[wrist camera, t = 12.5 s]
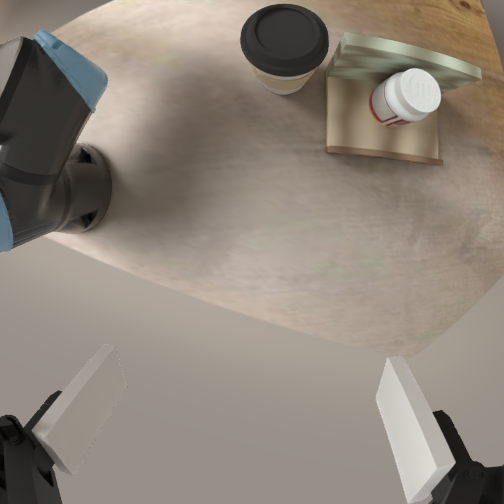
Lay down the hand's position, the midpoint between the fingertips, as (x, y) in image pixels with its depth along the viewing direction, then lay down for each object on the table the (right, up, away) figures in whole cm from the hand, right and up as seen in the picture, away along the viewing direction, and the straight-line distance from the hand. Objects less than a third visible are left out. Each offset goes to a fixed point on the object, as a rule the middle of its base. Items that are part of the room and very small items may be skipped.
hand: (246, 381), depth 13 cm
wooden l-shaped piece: (+19, +25, +24) cm, 40 cm away
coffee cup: (+5, +31, +24) cm, 39 cm away
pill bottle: (+19, +26, +22) cm, 39 cm away
